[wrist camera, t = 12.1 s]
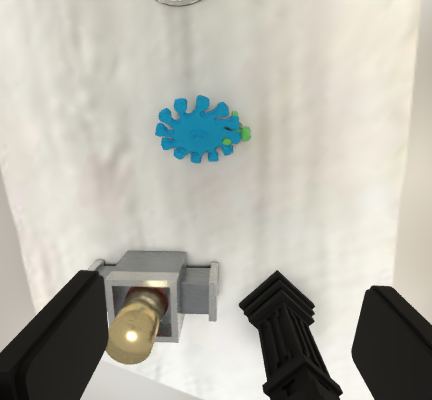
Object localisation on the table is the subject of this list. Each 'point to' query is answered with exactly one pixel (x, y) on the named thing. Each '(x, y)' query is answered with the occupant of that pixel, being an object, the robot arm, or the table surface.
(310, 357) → the chess piece
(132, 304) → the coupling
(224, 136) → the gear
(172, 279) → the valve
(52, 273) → the table surface
